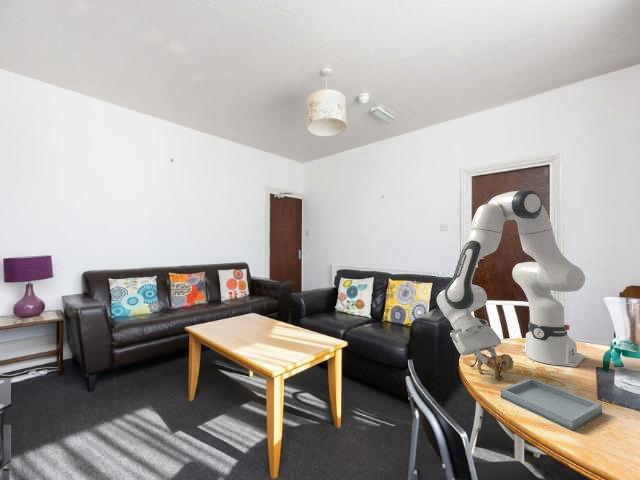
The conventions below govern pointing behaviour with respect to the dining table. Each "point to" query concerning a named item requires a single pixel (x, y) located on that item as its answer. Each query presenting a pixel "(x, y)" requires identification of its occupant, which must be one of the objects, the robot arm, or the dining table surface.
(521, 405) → the grey tray
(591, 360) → the dining table surface
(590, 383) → the dining table surface
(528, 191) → the robot arm
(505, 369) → the lion figurine
